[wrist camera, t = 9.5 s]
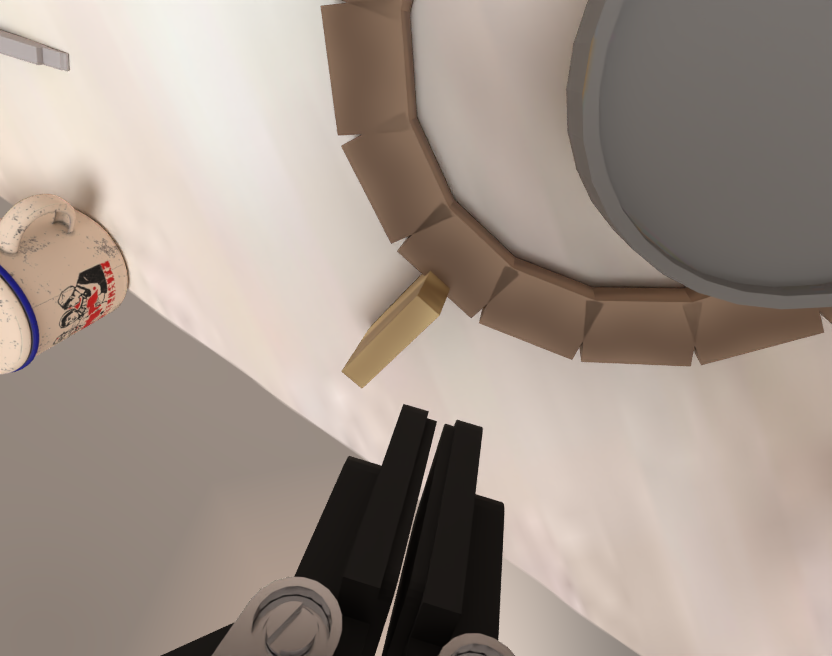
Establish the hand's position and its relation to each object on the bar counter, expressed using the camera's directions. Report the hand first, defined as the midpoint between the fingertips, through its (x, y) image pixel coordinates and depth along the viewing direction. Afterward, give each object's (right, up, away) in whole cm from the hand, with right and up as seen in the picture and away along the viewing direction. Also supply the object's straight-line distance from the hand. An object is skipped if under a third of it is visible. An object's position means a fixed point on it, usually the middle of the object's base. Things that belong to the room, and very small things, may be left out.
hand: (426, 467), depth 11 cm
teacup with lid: (-25, +9, +27) cm, 38 cm away
